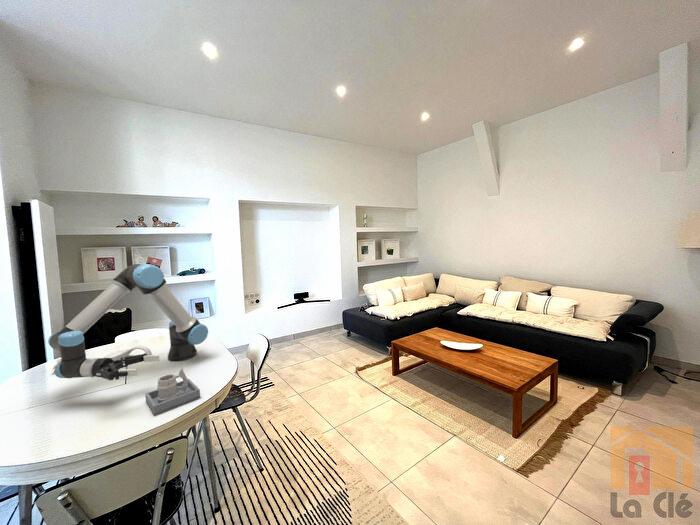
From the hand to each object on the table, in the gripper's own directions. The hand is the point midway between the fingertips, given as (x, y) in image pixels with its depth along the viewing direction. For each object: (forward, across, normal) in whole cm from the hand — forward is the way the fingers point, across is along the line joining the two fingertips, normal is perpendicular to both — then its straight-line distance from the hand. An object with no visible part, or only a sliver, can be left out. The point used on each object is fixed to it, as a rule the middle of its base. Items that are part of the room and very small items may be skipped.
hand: (148, 364), depth 120 cm
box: (+9, 0, -17) cm, 19 cm away
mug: (+9, 0, -16) cm, 18 cm away
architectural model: (-73, -34, -17) cm, 83 cm away
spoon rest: (-48, -50, -17) cm, 71 cm away
